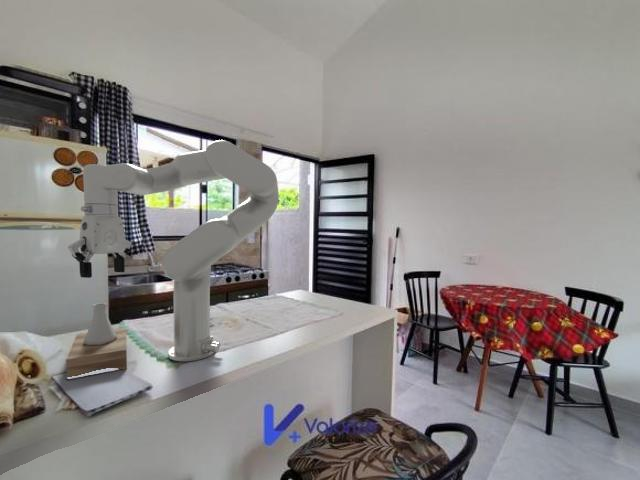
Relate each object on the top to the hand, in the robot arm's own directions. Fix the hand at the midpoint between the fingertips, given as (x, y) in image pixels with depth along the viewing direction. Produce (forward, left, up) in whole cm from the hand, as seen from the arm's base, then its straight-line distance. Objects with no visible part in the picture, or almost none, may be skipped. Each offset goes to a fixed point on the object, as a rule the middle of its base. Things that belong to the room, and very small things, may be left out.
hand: (103, 274), depth 87 cm
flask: (-1, +2, -18) cm, 18 cm away
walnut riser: (-1, +2, -23) cm, 23 cm away
